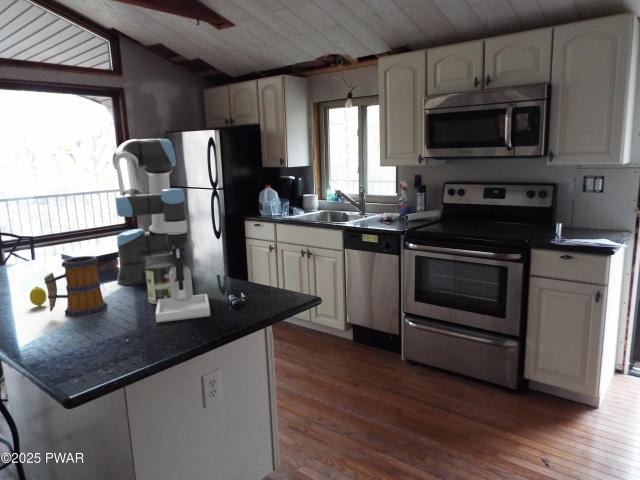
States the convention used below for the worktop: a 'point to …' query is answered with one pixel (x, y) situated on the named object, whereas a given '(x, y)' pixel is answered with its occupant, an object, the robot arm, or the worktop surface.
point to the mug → (78, 288)
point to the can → (187, 284)
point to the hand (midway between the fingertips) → (182, 294)
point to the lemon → (37, 296)
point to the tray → (182, 308)
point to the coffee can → (158, 281)
